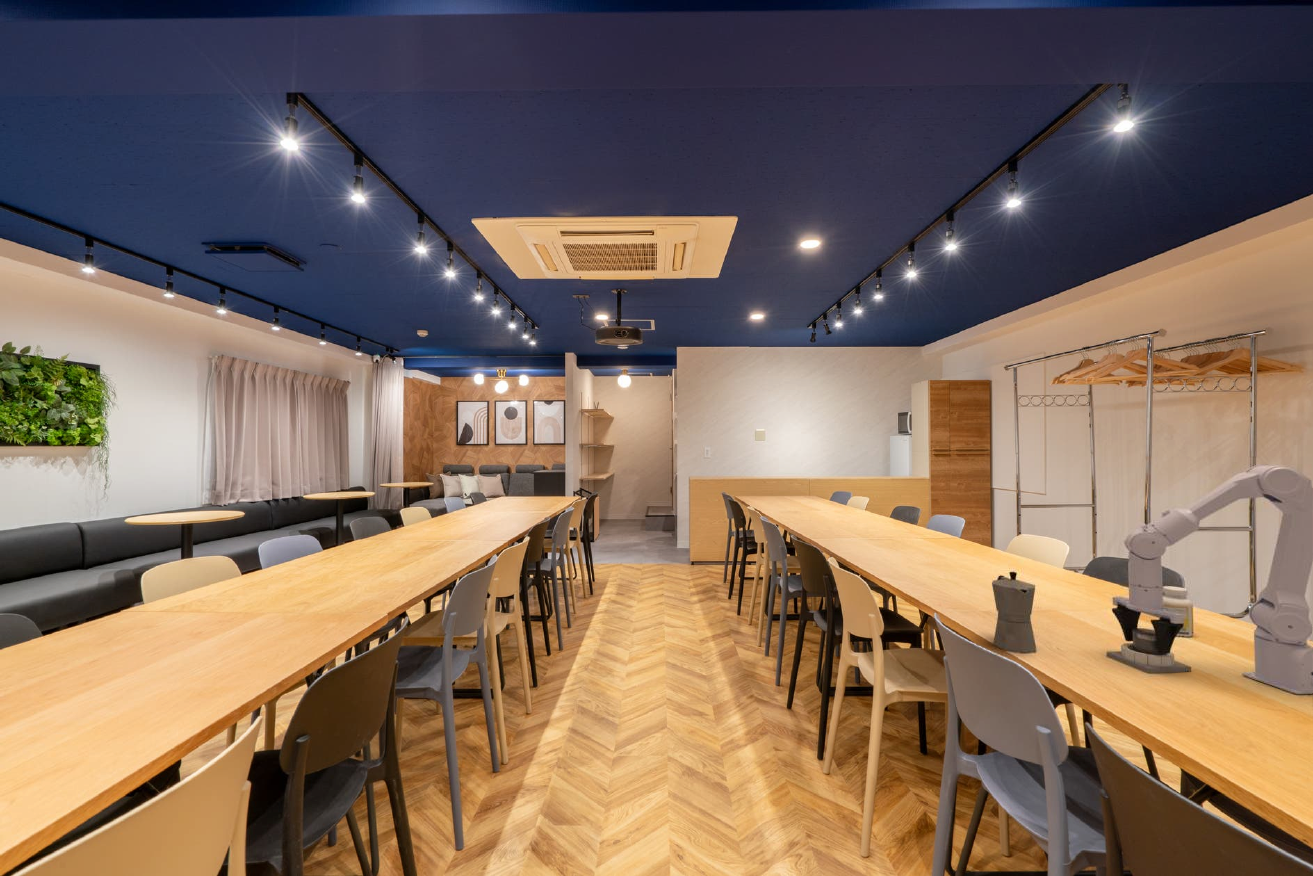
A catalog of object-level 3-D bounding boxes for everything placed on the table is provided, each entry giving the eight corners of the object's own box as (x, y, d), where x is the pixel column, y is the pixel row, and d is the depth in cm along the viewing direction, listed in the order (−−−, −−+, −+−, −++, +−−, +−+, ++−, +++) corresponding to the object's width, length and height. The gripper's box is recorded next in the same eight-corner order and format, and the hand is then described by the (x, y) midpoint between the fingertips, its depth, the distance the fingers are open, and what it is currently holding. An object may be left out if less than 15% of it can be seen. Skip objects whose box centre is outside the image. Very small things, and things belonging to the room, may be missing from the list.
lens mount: (1191, 671, 119) (1191, 657, 119) (1148, 673, 118) (1148, 659, 118) (1146, 654, 129) (1146, 641, 129) (1106, 656, 128) (1106, 643, 128)
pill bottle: (1179, 629, 147) (1178, 585, 147) (1200, 638, 141) (1199, 591, 141) (1152, 629, 148) (1151, 585, 148) (1172, 637, 141) (1171, 591, 142)
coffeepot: (1049, 658, 127) (1048, 578, 128) (1004, 655, 129) (1002, 576, 130) (1020, 636, 143) (1018, 565, 143) (979, 633, 144) (978, 563, 145)
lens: (1169, 662, 122) (1168, 634, 122) (1149, 663, 121) (1148, 635, 121) (1146, 654, 127) (1145, 627, 127) (1127, 655, 126) (1126, 628, 126)
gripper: (1100, 578, 131) (1101, 636, 131) (1161, 593, 117) (1162, 659, 116) (1127, 577, 132) (1129, 635, 131) (1191, 592, 117) (1193, 658, 117)
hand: (1146, 646), depth 124 cm, fingers open, 7 cm apart
